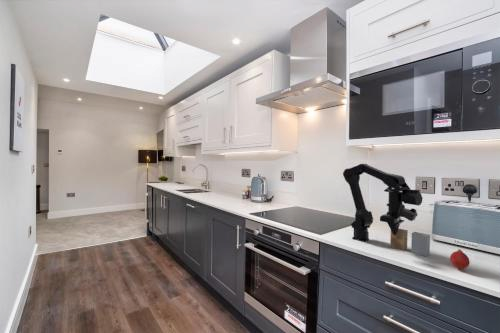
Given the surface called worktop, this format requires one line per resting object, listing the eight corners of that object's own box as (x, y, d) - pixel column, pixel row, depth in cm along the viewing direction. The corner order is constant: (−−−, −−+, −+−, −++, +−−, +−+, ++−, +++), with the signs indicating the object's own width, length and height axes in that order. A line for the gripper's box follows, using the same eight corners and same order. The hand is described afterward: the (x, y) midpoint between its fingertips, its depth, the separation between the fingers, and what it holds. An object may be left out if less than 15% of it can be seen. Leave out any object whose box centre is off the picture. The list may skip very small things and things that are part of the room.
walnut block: (390, 247, 118) (390, 228, 118) (393, 245, 120) (394, 227, 120) (403, 250, 113) (404, 231, 113) (407, 248, 116) (407, 230, 116)
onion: (449, 265, 98) (450, 245, 98) (468, 269, 94) (469, 249, 94) (449, 269, 93) (450, 249, 93) (469, 274, 90) (470, 253, 90)
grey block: (411, 252, 111) (411, 233, 111) (414, 250, 113) (414, 231, 113) (426, 256, 106) (427, 236, 106) (429, 254, 109) (430, 234, 109)
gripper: (407, 206, 101) (406, 243, 101) (422, 202, 113) (421, 235, 113) (379, 203, 110) (379, 236, 110) (396, 199, 121) (395, 229, 122)
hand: (394, 234), depth 113 cm, fingers closed
